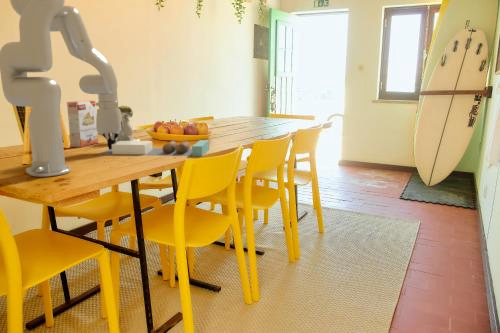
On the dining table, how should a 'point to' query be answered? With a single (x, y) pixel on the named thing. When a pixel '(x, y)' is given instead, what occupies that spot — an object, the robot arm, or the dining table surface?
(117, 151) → the slab
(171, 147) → the roller
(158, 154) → the mat
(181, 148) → the roller
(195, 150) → the stop block
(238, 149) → the dining table surface
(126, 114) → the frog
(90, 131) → the cracker box
